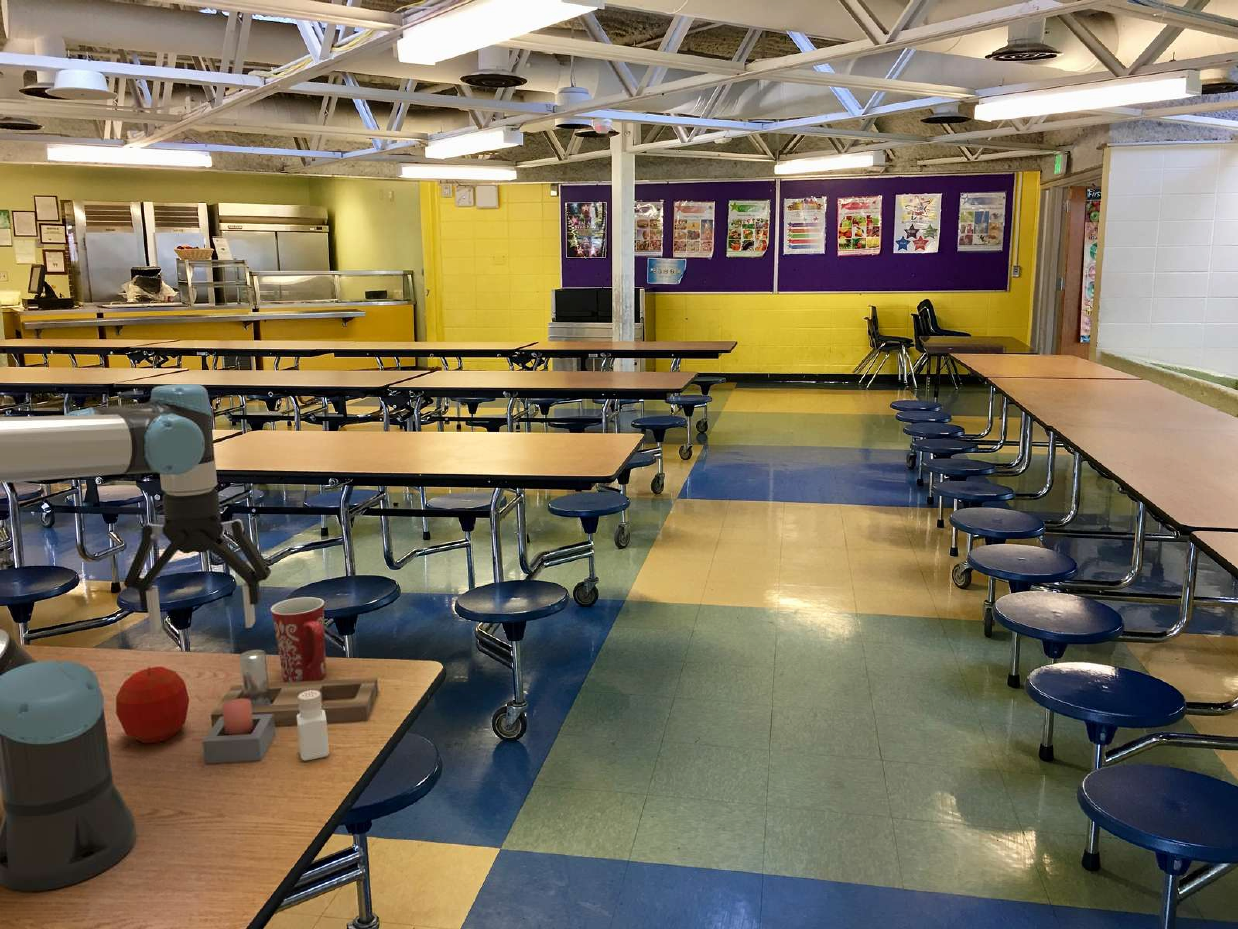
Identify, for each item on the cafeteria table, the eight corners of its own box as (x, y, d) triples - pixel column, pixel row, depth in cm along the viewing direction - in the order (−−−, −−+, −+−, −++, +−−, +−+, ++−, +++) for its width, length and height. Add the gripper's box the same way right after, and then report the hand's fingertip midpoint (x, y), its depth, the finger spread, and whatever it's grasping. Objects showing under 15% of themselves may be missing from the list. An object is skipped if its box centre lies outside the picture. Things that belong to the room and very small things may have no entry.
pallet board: (367, 720, 151) (365, 706, 151) (212, 729, 149) (210, 714, 149) (378, 691, 162) (377, 677, 161) (234, 699, 160) (232, 685, 159)
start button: (249, 741, 141) (246, 709, 140) (221, 742, 140) (218, 711, 139) (257, 728, 145) (254, 697, 144) (230, 729, 144) (227, 699, 143)
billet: (267, 716, 153) (261, 658, 151) (241, 718, 153) (235, 660, 151) (273, 705, 157) (268, 649, 155) (249, 707, 157) (243, 650, 155)
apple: (167, 715, 154) (159, 649, 152) (206, 729, 149) (198, 661, 147) (107, 742, 146) (97, 672, 144) (146, 757, 141) (137, 685, 138)
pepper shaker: (301, 763, 138) (295, 702, 136) (299, 750, 142) (294, 691, 140) (329, 757, 140) (324, 697, 138) (327, 745, 143) (322, 687, 142)
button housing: (261, 760, 139) (258, 738, 139) (205, 763, 139) (202, 741, 138) (275, 734, 147) (273, 713, 146) (222, 737, 146) (220, 716, 146)
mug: (269, 676, 169) (262, 604, 166) (318, 662, 175) (312, 593, 172) (297, 699, 159) (289, 623, 157) (347, 684, 165) (341, 610, 162)
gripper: (283, 481, 144) (294, 614, 148) (109, 488, 141) (125, 623, 145) (273, 491, 137) (284, 631, 141) (89, 499, 133) (106, 641, 137)
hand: (203, 627), depth 143 cm, fingers open, 13 cm apart
